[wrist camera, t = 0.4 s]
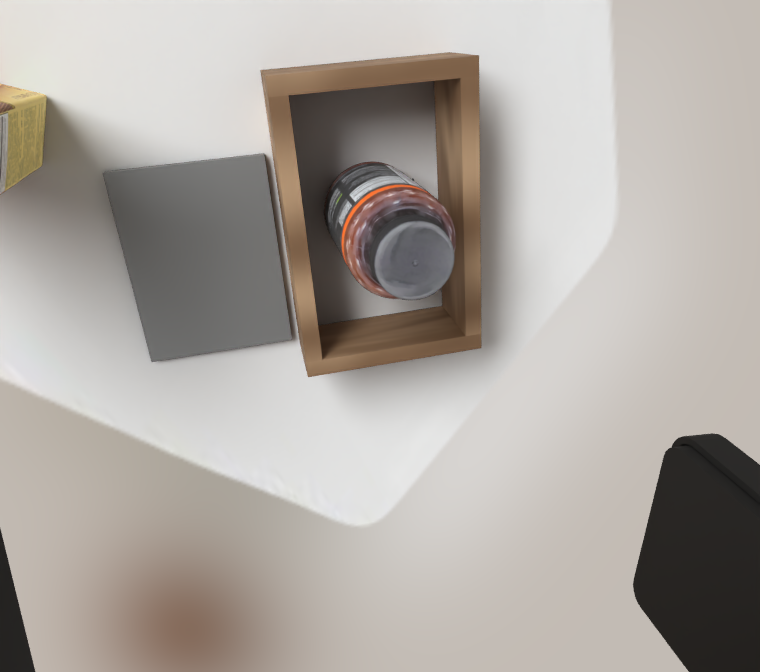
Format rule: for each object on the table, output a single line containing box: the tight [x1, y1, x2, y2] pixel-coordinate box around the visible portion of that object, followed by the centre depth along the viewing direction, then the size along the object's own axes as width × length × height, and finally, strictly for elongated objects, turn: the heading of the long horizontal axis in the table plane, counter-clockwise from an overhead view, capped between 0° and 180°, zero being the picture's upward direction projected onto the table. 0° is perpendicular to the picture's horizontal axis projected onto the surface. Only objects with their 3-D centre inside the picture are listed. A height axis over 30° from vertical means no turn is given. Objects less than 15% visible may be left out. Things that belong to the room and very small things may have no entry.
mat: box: [103, 153, 292, 362], centre depth 40 cm, size 12×9×1 cm
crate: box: [261, 52, 481, 377], centre depth 39 cm, size 17×11×5 cm, turn 5°
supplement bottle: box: [324, 162, 456, 300], centre depth 36 cm, size 6×6×11 cm
